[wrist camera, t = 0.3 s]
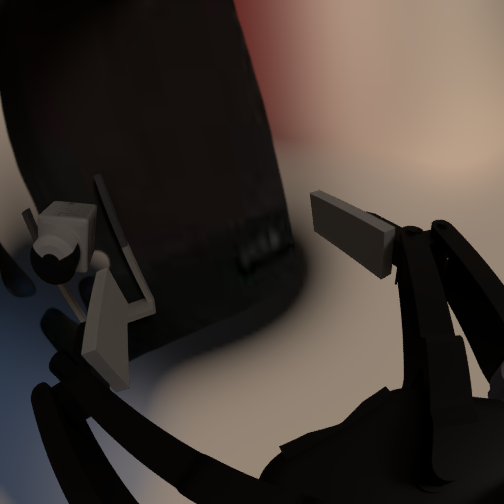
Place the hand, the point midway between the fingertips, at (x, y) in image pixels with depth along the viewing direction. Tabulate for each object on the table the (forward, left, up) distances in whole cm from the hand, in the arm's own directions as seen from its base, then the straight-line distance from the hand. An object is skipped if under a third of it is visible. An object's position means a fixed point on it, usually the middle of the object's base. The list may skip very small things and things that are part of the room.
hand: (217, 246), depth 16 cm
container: (+2, -18, -28) cm, 33 cm away
